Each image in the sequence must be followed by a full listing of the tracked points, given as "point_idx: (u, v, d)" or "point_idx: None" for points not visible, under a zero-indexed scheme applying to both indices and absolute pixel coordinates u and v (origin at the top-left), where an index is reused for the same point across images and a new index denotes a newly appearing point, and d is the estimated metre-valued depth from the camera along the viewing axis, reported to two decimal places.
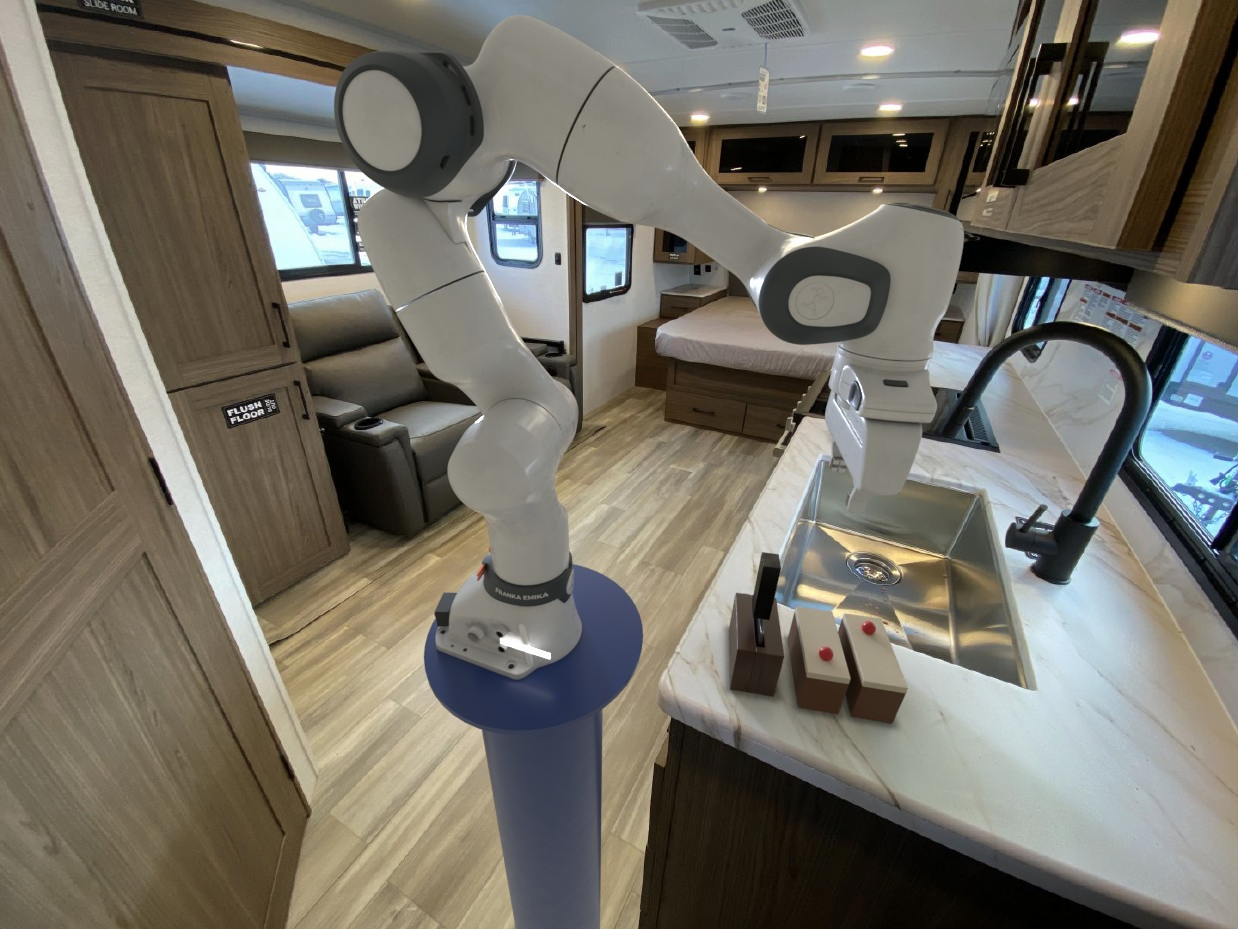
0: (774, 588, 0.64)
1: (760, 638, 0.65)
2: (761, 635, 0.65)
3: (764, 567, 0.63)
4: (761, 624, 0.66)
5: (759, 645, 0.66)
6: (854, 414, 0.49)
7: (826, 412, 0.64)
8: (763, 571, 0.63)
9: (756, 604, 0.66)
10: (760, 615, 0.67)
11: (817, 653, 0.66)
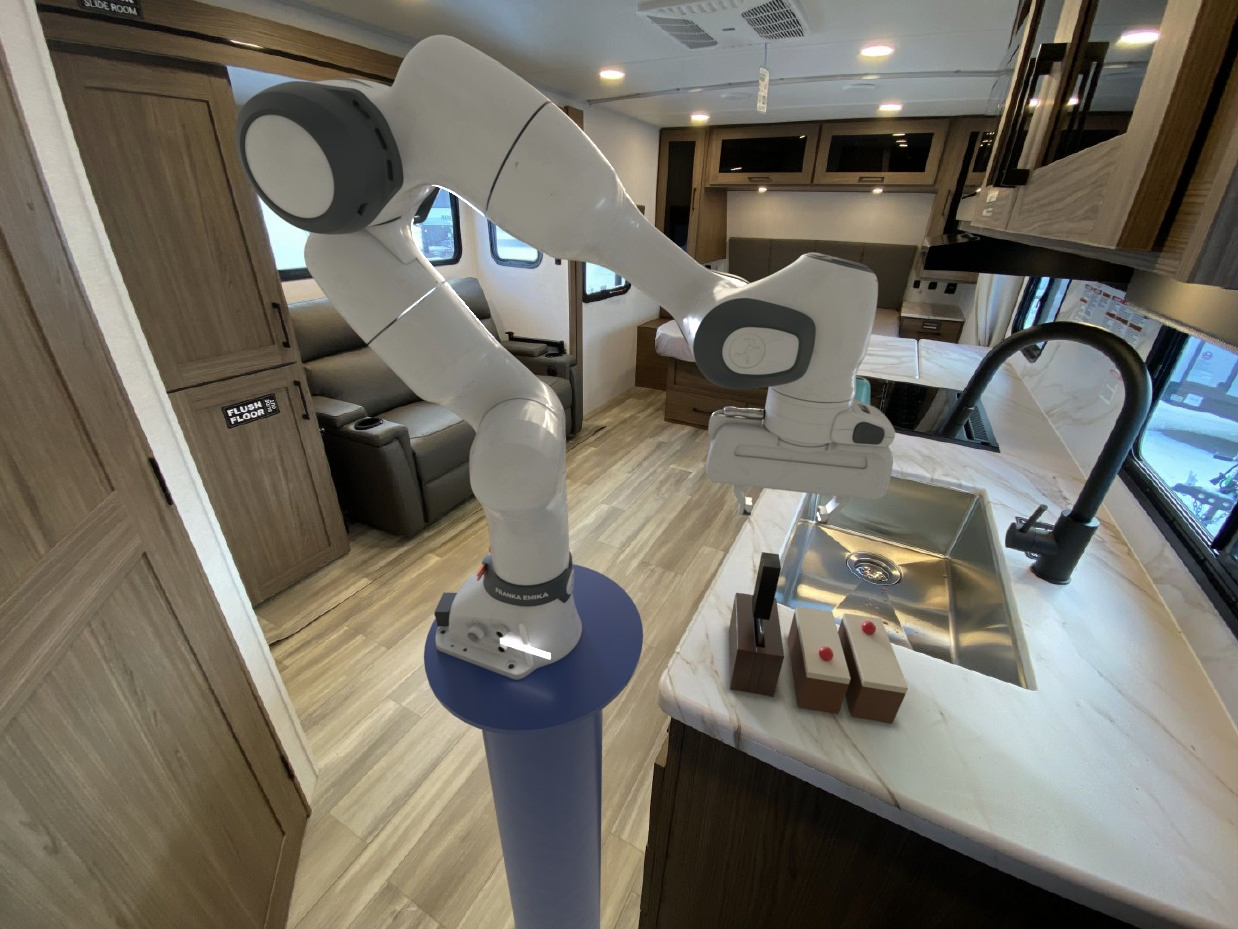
0: (774, 588, 0.64)
1: (760, 638, 0.65)
2: (761, 635, 0.65)
3: (764, 567, 0.63)
4: (761, 624, 0.66)
5: (759, 645, 0.66)
6: (857, 449, 0.52)
7: (716, 473, 0.58)
8: (763, 571, 0.63)
9: (756, 604, 0.66)
10: (760, 615, 0.67)
11: (817, 653, 0.66)
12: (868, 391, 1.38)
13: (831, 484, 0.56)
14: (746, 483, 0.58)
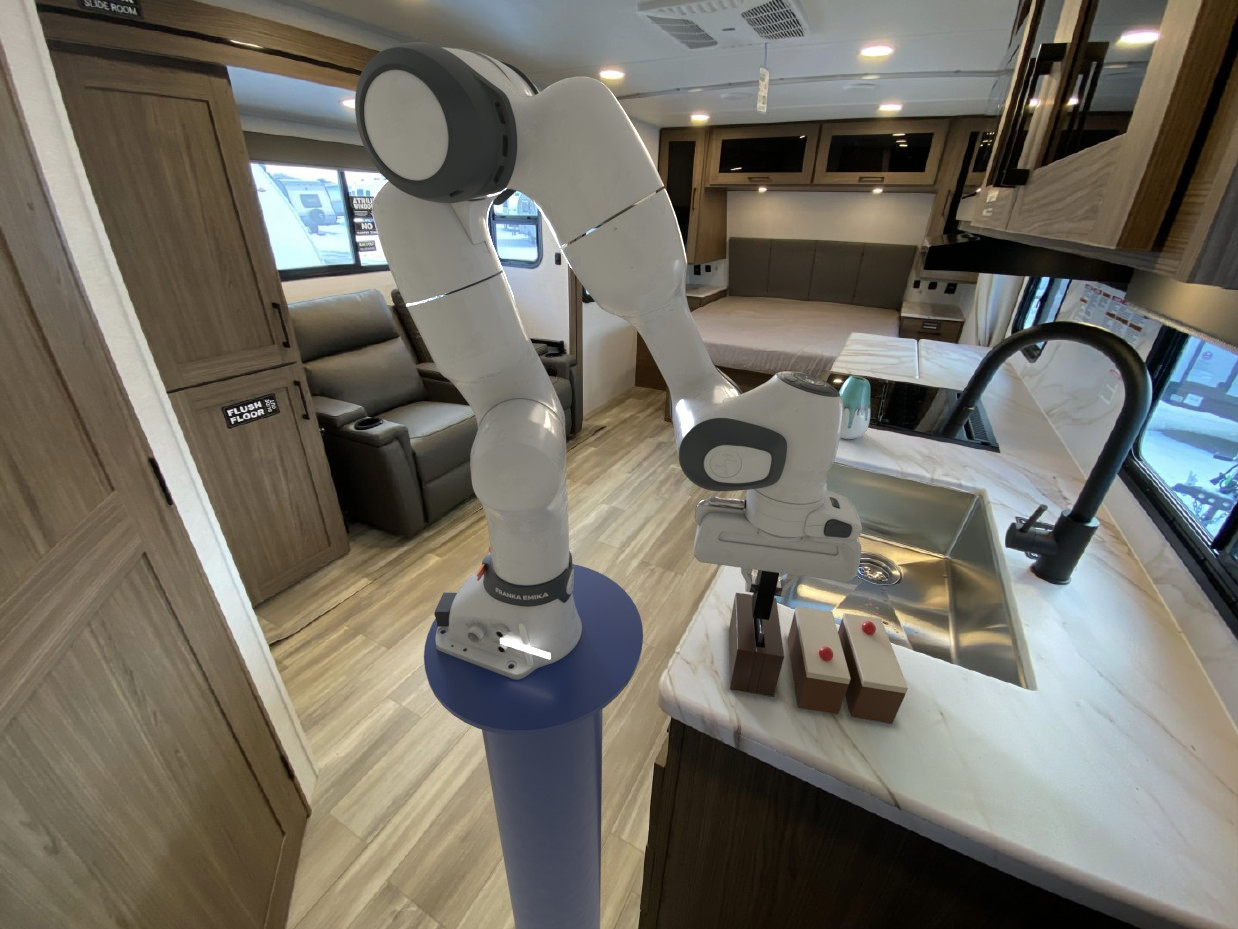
0: (774, 588, 0.64)
1: (760, 638, 0.65)
2: (761, 635, 0.65)
3: None
4: (761, 624, 0.66)
5: (759, 645, 0.66)
6: (828, 540, 0.58)
7: (703, 555, 0.63)
8: (763, 571, 0.63)
9: (756, 604, 0.66)
10: (760, 615, 0.67)
11: (817, 653, 0.66)
12: (868, 391, 1.38)
13: (806, 567, 0.61)
14: (730, 564, 0.63)
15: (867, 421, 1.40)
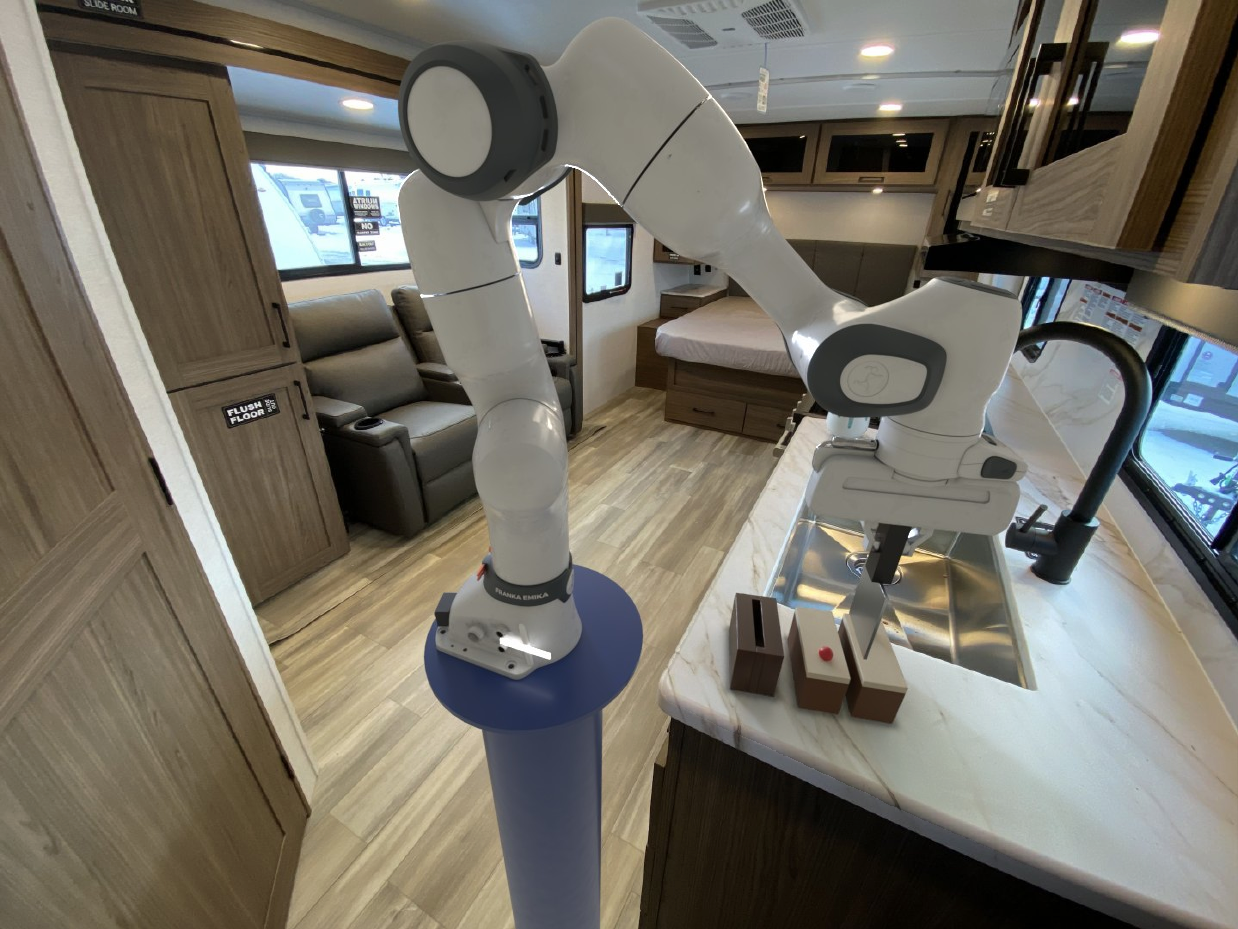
0: (902, 545, 0.55)
1: (883, 604, 0.56)
2: (885, 601, 0.56)
3: None
4: (883, 589, 0.57)
5: (881, 613, 0.57)
6: (983, 483, 0.49)
7: (821, 506, 0.54)
8: (891, 525, 0.54)
9: (877, 565, 0.57)
10: (881, 578, 0.58)
11: (817, 653, 0.66)
12: None
13: (947, 519, 0.52)
14: (853, 517, 0.54)
15: (867, 421, 1.40)
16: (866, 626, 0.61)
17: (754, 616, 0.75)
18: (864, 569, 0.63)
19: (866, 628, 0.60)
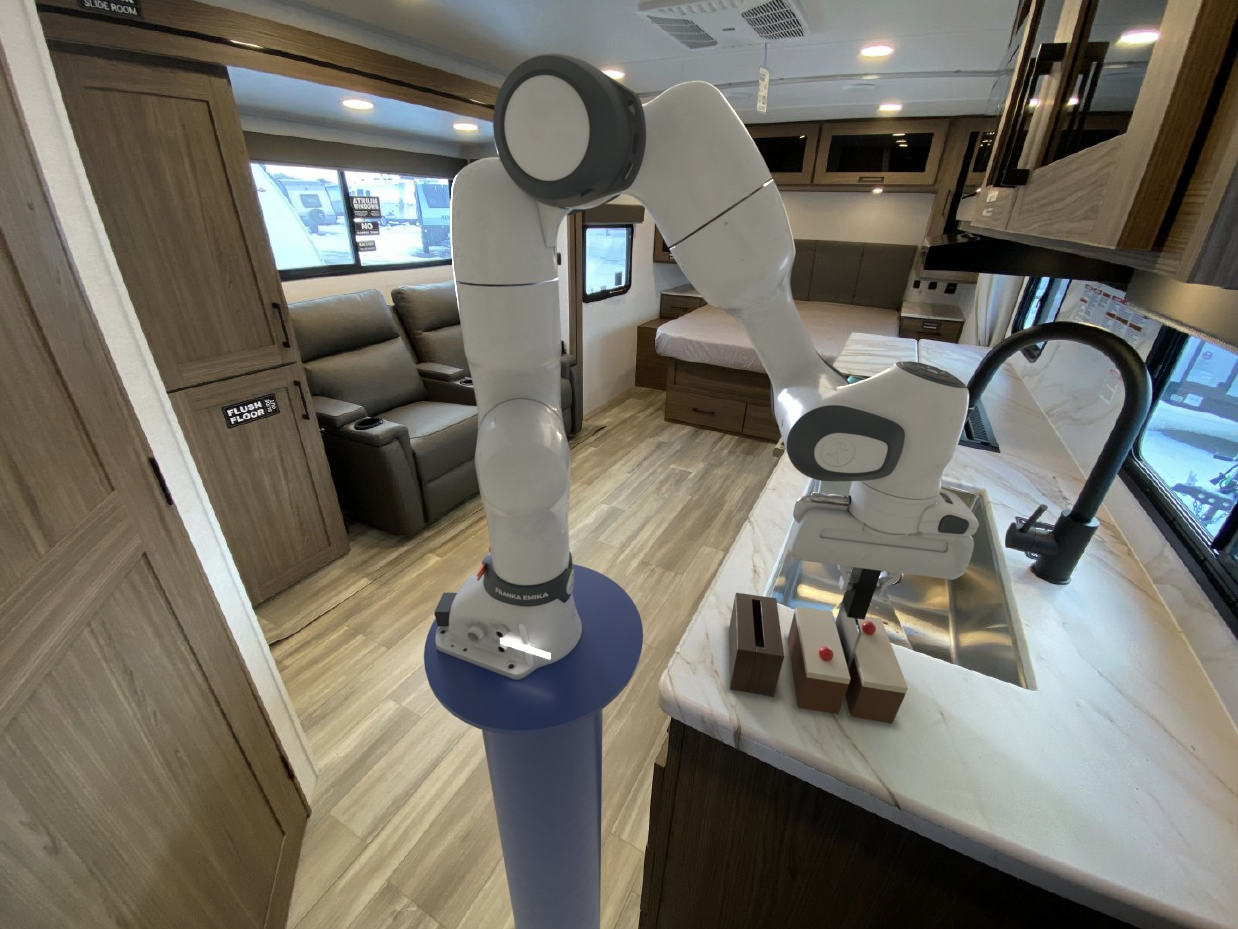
0: (873, 586, 0.62)
1: (857, 638, 0.63)
2: (859, 635, 0.63)
3: None
4: (857, 624, 0.64)
5: (855, 645, 0.64)
6: (941, 537, 0.56)
7: (801, 552, 0.61)
8: (863, 569, 0.61)
9: (852, 603, 0.64)
10: (855, 614, 0.65)
11: (817, 653, 0.66)
12: None
13: (912, 565, 0.59)
14: (829, 562, 0.61)
15: None
16: None
17: (754, 616, 0.75)
18: (842, 603, 0.70)
19: None
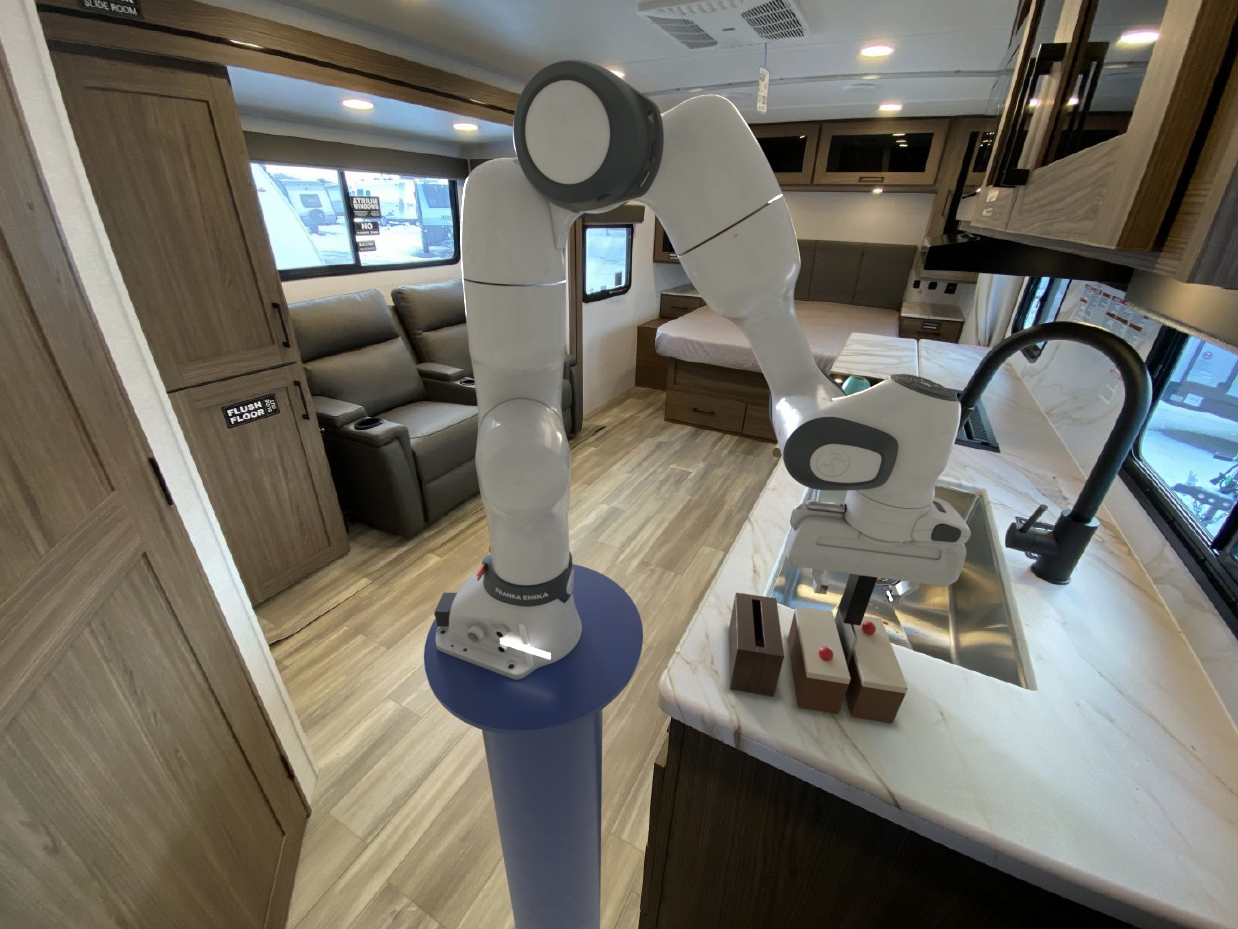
0: (869, 593, 0.64)
1: (853, 644, 0.65)
2: (855, 641, 0.64)
3: None
4: (853, 629, 0.66)
5: (851, 651, 0.65)
6: (934, 545, 0.57)
7: (798, 559, 0.63)
8: (860, 576, 0.63)
9: (848, 609, 0.65)
10: (851, 620, 0.66)
11: (817, 653, 0.66)
12: None
13: (906, 572, 0.61)
14: (825, 568, 0.63)
15: None
16: None
17: (754, 616, 0.75)
18: (839, 609, 0.72)
19: None
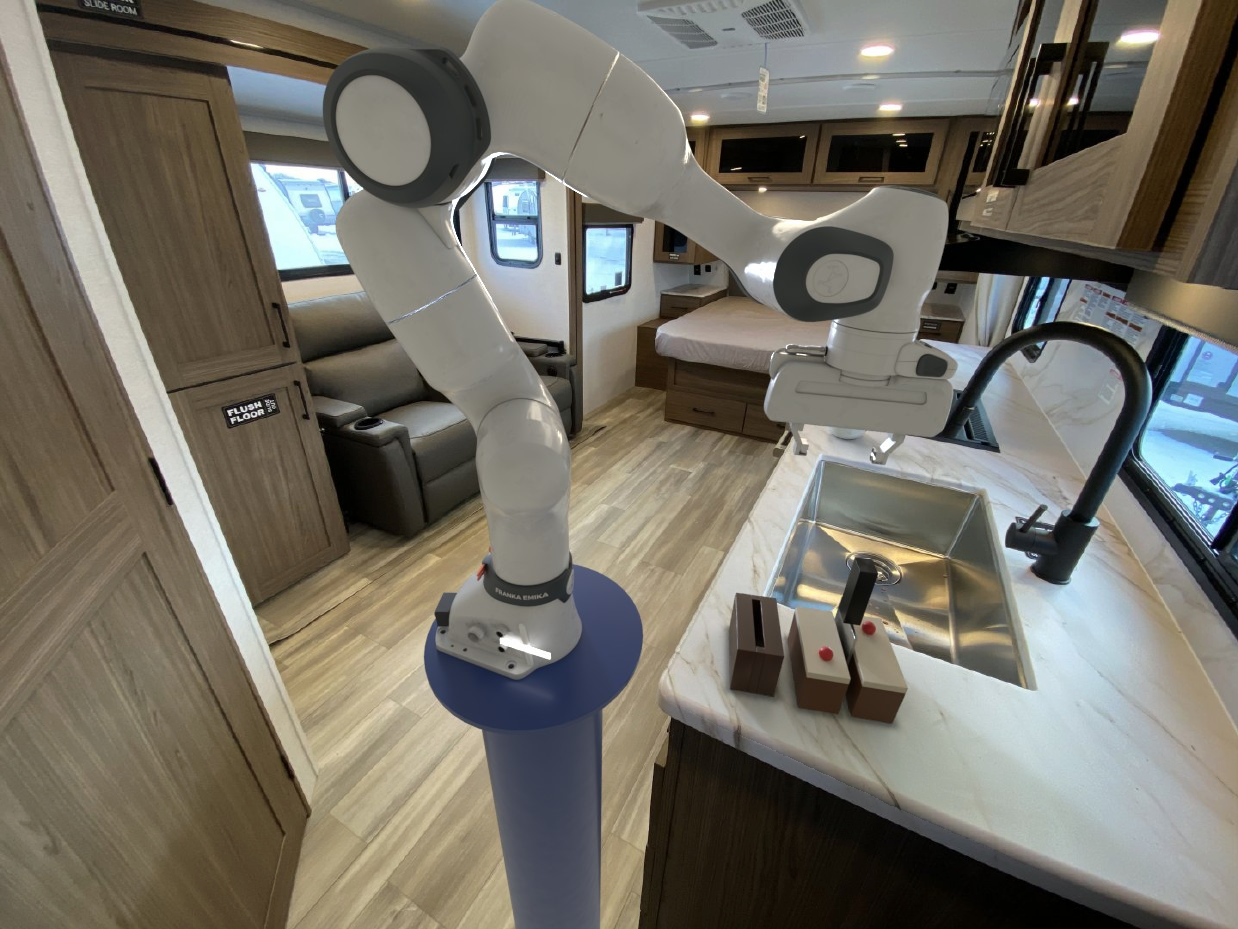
0: (869, 593, 0.64)
1: (853, 644, 0.65)
2: (854, 641, 0.64)
3: (861, 572, 0.62)
4: (853, 629, 0.66)
5: (851, 651, 0.65)
6: (919, 383, 0.54)
7: (776, 410, 0.59)
8: (859, 576, 0.63)
9: (848, 609, 0.65)
10: (851, 620, 0.66)
11: (817, 653, 0.66)
12: None
13: (890, 420, 0.57)
14: (805, 421, 0.59)
15: None
16: None
17: (754, 616, 0.75)
18: (839, 609, 0.72)
19: None
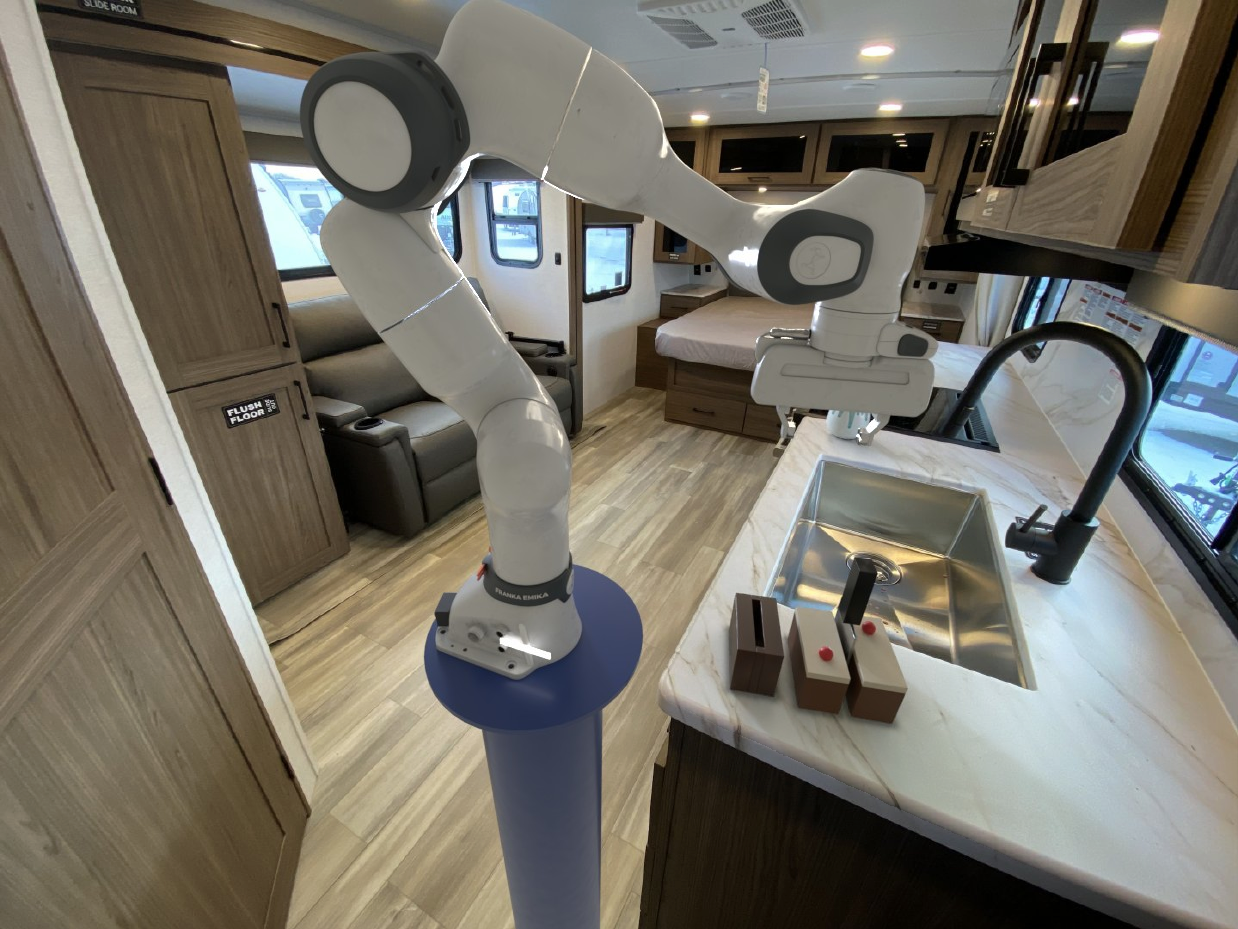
0: (868, 593, 0.64)
1: (853, 643, 0.65)
2: (854, 640, 0.64)
3: (860, 572, 0.62)
4: (853, 629, 0.66)
5: (851, 650, 0.65)
6: (901, 363, 0.55)
7: (763, 394, 0.60)
8: (859, 576, 0.63)
9: (848, 609, 0.65)
10: (851, 620, 0.66)
11: (817, 653, 0.66)
12: None
13: (874, 401, 0.58)
14: (791, 403, 0.60)
15: (867, 421, 1.40)
16: None
17: (754, 616, 0.75)
18: (838, 609, 0.72)
19: None
